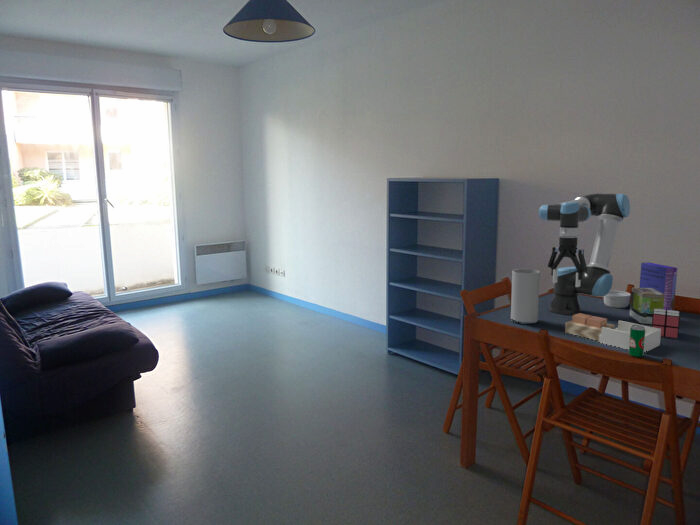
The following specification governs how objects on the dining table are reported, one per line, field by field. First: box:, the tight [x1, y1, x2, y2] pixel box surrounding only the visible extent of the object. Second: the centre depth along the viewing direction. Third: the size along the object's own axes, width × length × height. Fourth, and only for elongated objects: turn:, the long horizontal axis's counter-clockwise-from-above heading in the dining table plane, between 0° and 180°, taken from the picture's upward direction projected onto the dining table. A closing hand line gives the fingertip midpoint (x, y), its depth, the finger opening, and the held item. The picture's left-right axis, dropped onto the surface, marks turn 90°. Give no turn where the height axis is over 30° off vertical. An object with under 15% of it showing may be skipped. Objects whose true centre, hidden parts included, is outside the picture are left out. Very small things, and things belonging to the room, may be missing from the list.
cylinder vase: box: [510, 268, 541, 323], centre depth 245 cm, size 12×12×25 cm
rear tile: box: [572, 313, 593, 325], centre depth 226 cm, size 6×6×3 cm
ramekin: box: [603, 290, 631, 309], centre depth 271 cm, size 13×13×7 cm
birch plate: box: [564, 320, 616, 342], centre depth 224 cm, size 16×12×5 cm
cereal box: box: [638, 262, 678, 311], centre depth 258 cm, size 17×5×24 cm, turn 14°
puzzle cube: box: [651, 309, 681, 339], centre depth 222 cm, size 10×10×10 cm
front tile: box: [586, 315, 608, 328], centre depth 221 cm, size 6×6×3 cm
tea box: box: [629, 287, 665, 325], centre depth 243 cm, size 15×10×15 cm
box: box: [598, 320, 662, 353], centre depth 210 cm, size 18×16×7 cm
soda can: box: [628, 324, 645, 358], centre depth 196 cm, size 5×5×12 cm
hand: (566, 284), depth 230 cm, fingers open, 10 cm apart
